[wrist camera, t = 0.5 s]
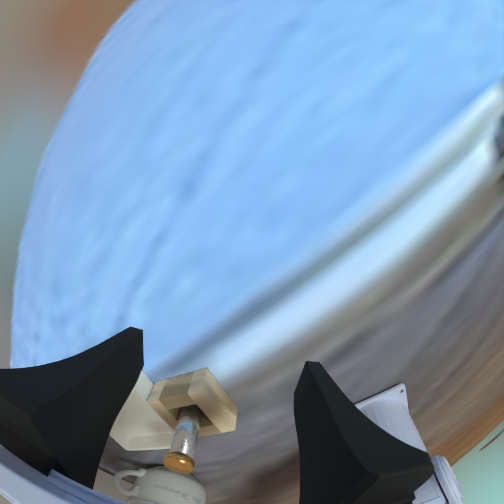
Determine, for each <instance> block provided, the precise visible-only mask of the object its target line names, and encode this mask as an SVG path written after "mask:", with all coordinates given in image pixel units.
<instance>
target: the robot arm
mask: <svg viewBox="0 0 504 504" xmlns="http://www.w3.org/2000/svg"><path fill="white" fill-rule="evenodd" d="M143 366H144V357H143V330H141V329H137V328H134V327H129V328H127V329H125V330H123V331H121V332H120V333H118V334H116V335H115V336H113V337H111V338H109V339H107V340H106V341H104V342H102V343H100V344H98V345H96V346H94V347H92V348H90V349H88V350H86V351H84V352H82V353H79V354H77V355H74V356H72V357H69V358H66V359H63V360H60V361H57V362H53V363H49V364H45V365H40V366H34V367H27V368H16V369H0V494H1V495H2V496H4V497H5V498H6V499H7V500H9V501H10V502H11V503H13V504H127V503H124V502H121V501H118V500H116V499H113V498H111V497H108V496H106V495H103V494H101V493H99V492H96V491H94V490H93V486H94V482H95V477H96V474H97V470H98V466H99V463H100V460H101V456H102V453H103V450H104V447H105V445H106V442H107V439H108V436H109V434H110V431H111V429H112V426H113V424H114V422H115V420H116V418H117V416H118V414H119V412H120V411H121V409H122V407H123V405H124V404H125V402H126V400H127V399H128V397H129V395H130V393H131V392H132V390H133V388H134V386H135V385H136V383H137V381H138V378H139V376H140V373H141V371H142V368H143ZM294 417H295V424H296V431H297V437H298V444H299V451H300V500H299V504H466V503H465V501H464V499H463V494H462V491H461V488H460V486H459V484H458V481H457V479H456V477H455V475H454V473H453V471H452V469H451V467H450V465H449V463H448V462H447V460H446V459H445V457H444V456H438V455H435V456H434V457H432V458H431V457H430V456H429V455H428V452H427V450H426V448H425V446H424V444H423V442H422V439H421V437H420V435H419V433H418V431H417V429H416V427H415V425H414V423H413V421H412V419H411V417H410V415H409V412H408V403H407V396H406V389H405V385H404V384H403V383H401V384H398V385H396V386H394V387H392V388H390V389H388V390H386V391H384V392H382V393H380V394H377V395H375V396H373V397H371V398H368V399H366V400H364V401H361V402H359V403H357V404H353V403H352V402H351V401H350V400H349V399H348V398H347V396H346V395H345V394H344V393H343V392H342V391H341V389H340V388H339V387H338V386H337V384H336V383H335V382H334V381H333V379H332V378H331V377H330V375H329V374H328V373H327V372H326V370H325V369H324V368H323V366H322V365H321V364H320V362H312V361H306V363H305V365H304V368H303V371H302V373H301V376H300V379H299V381H298V384H297V386H296V389H295V392H294Z"/></svg>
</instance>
